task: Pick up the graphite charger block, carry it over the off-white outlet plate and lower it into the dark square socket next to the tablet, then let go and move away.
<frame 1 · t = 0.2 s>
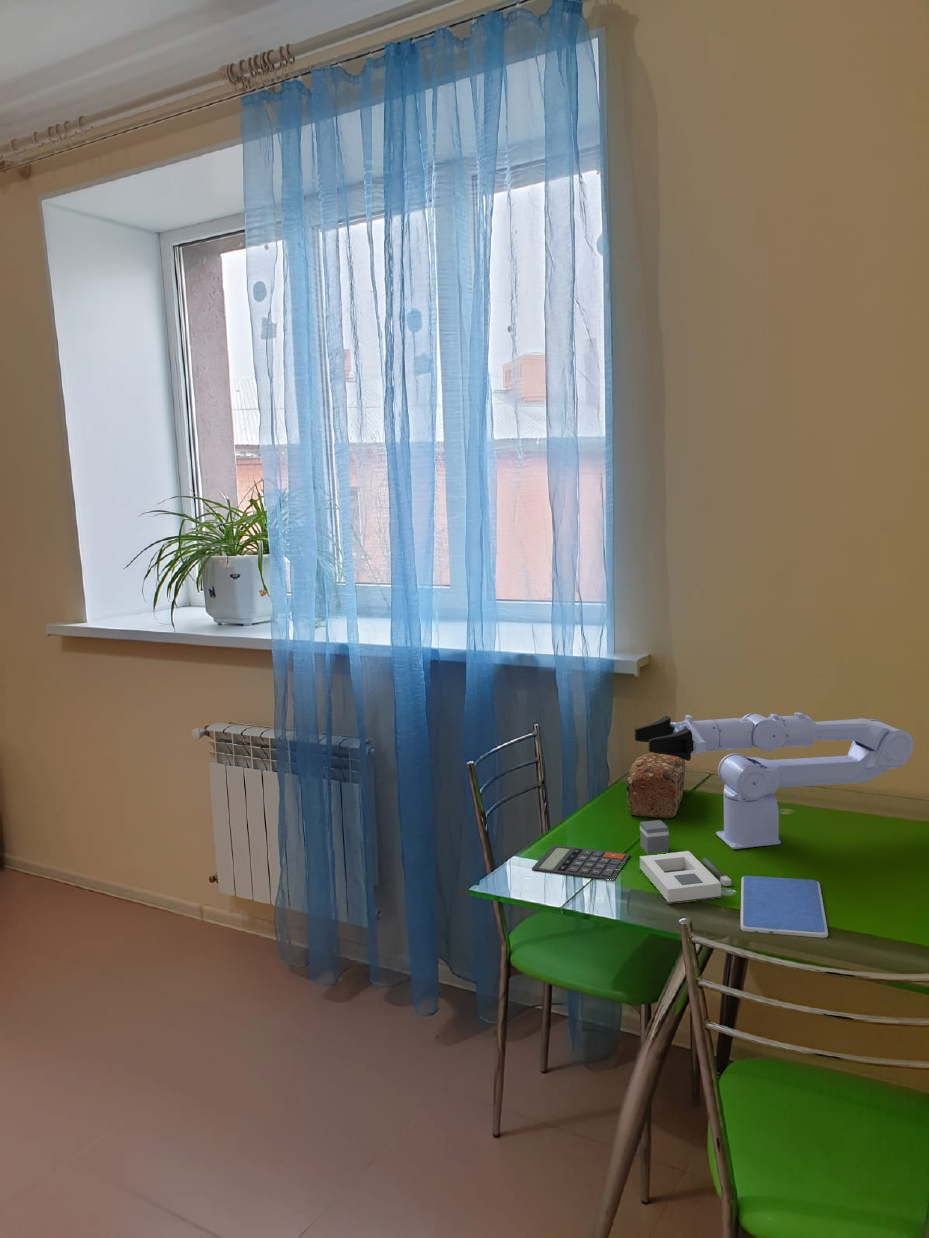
hand: (642, 740, 174), 21 cm above the table, tool horizontal, fingers open, 7 cm apart
calculator: (581, 866, 173), on the table
outlet plate: (679, 883, 162), on the table
bread: (657, 804, 202), on the table
cable: (714, 871, 166), on the table
tablet computer: (781, 910, 153), on the table
charger: (654, 850, 177), on the table
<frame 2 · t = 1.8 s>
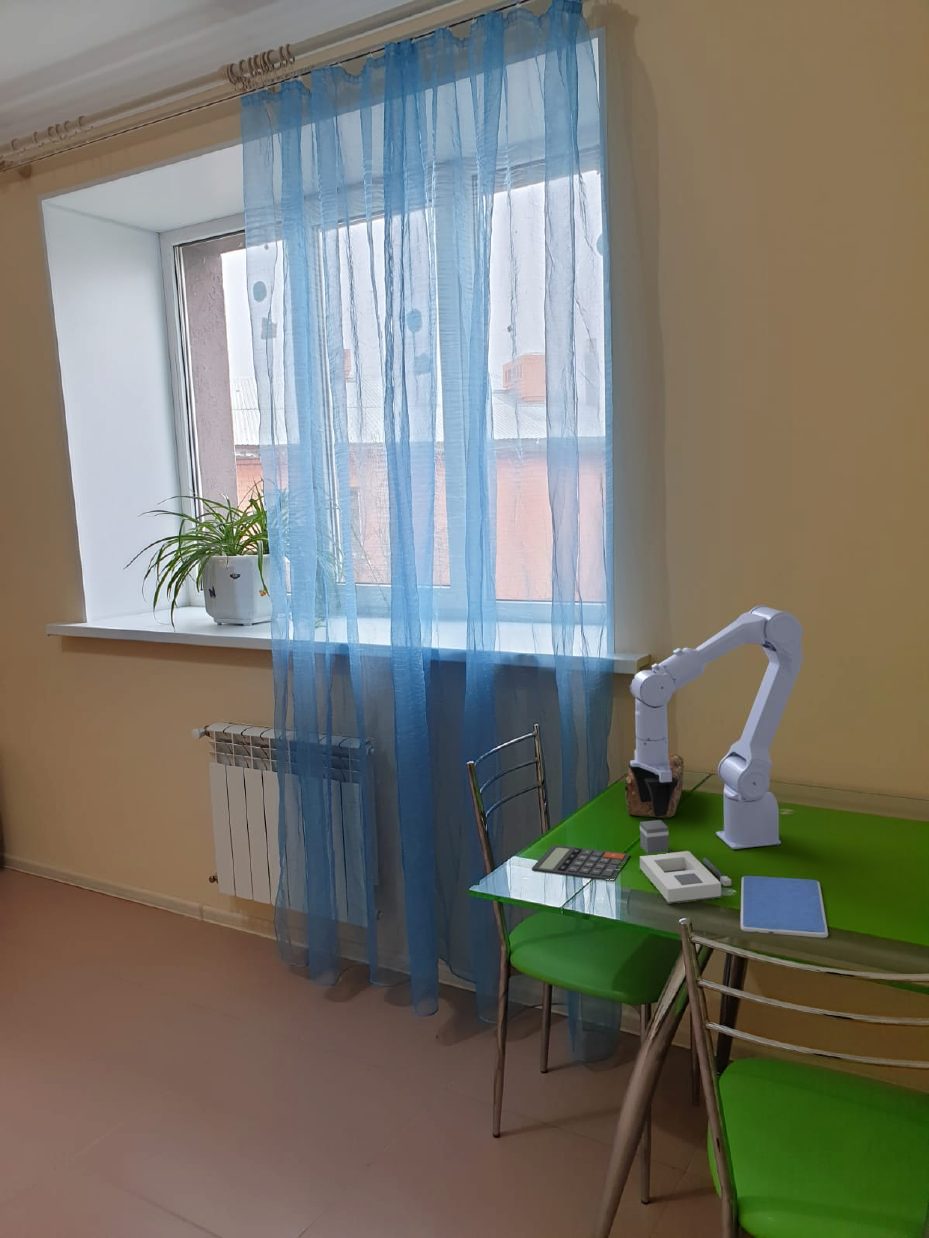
hand: (653, 808, 176), 8 cm above the table, tool pointing down, fingers open, 7 cm apart
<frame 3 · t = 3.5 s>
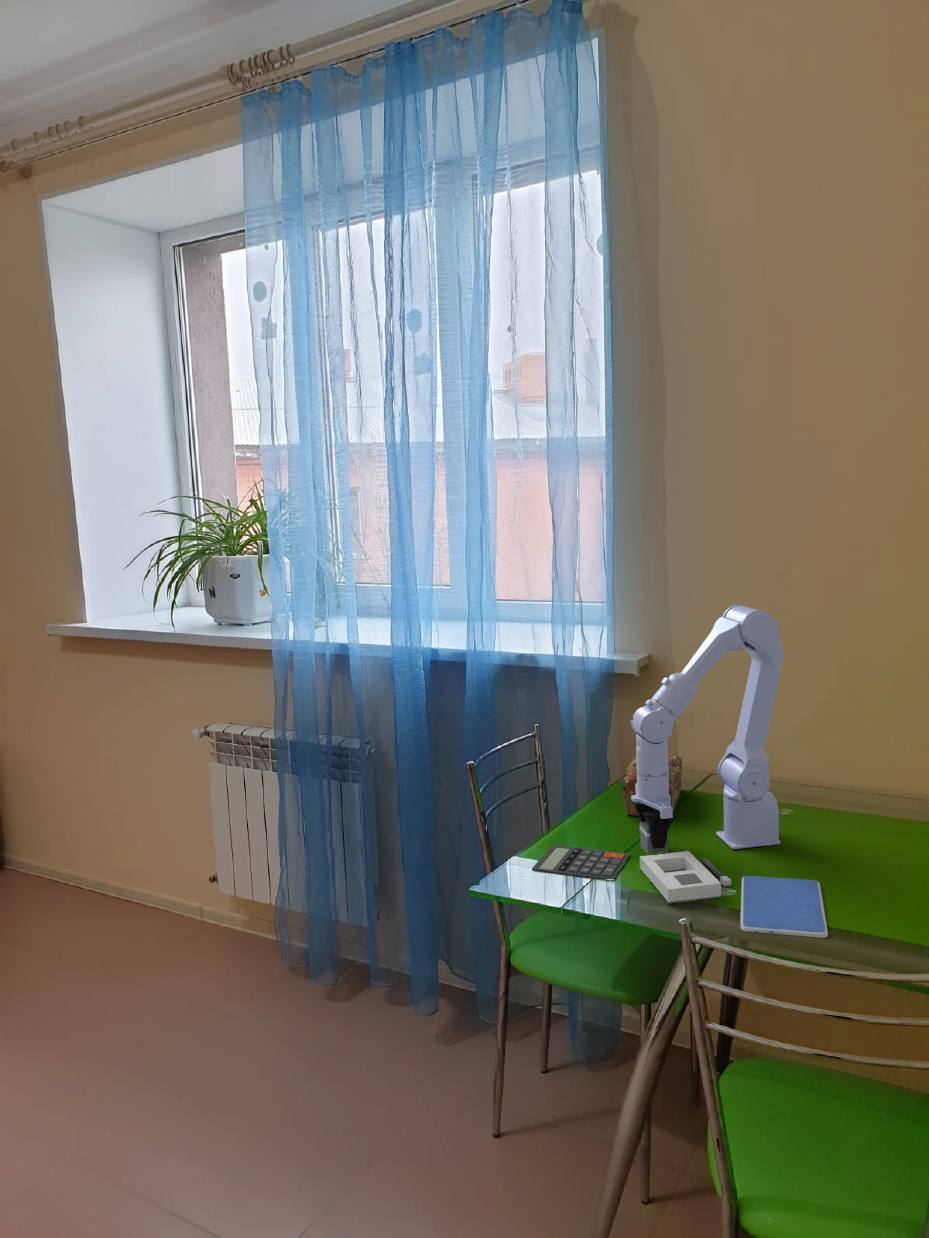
hand: (654, 842, 177), 1 cm above the table, tool pointing down, fingers closed on charger, 4 cm apart
charger: (654, 850, 177), on the table, touching gripper
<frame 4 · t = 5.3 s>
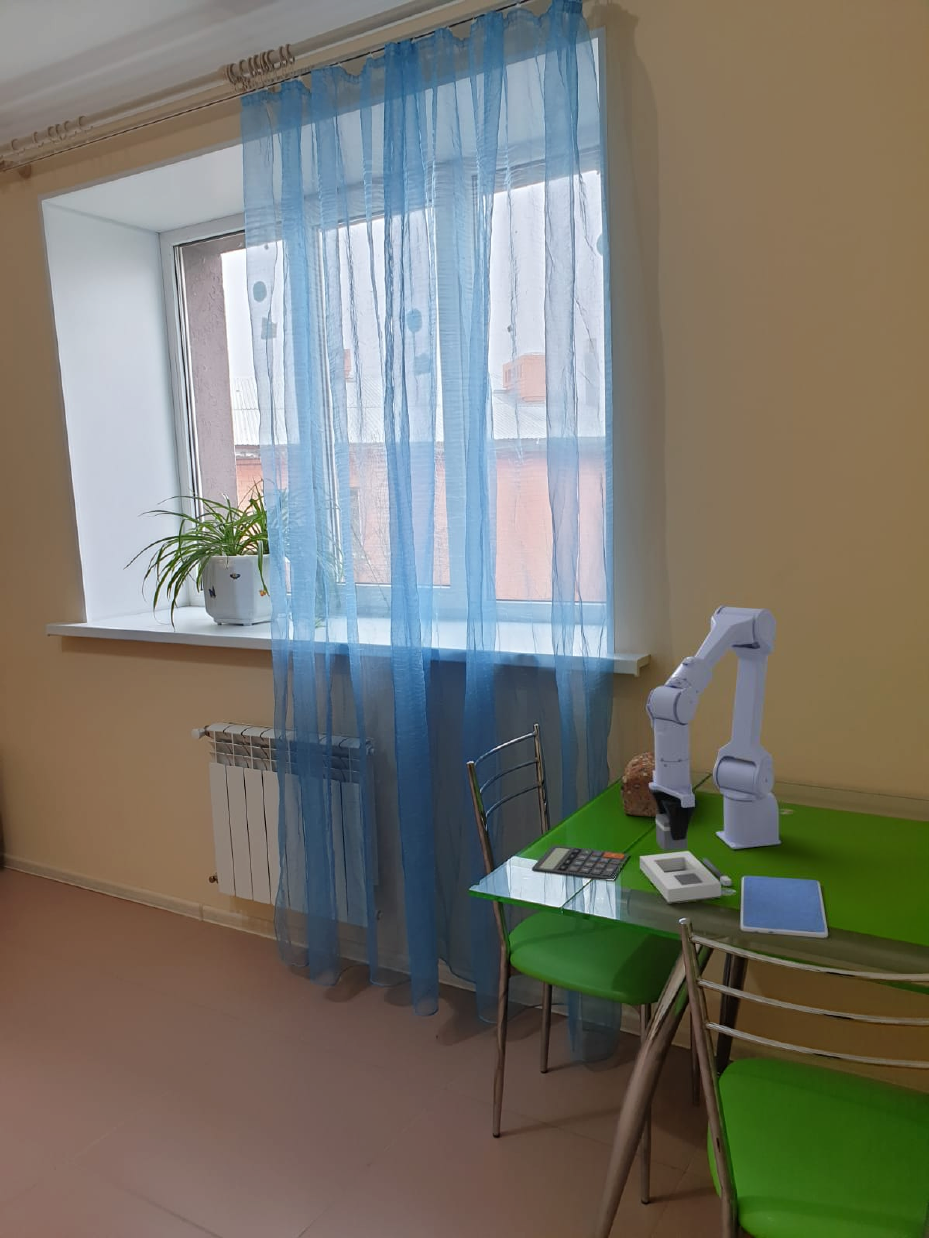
hand: (673, 834, 163), 8 cm above the table, tool pointing down, fingers closed on charger, 4 cm apart
charger: (671, 845, 163), point 6 cm above the table, touching gripper
everything else where it was.
when the fingers open (3 cm above the table, at t = 7.2 s): charger stays where it is, resting on outlet plate.
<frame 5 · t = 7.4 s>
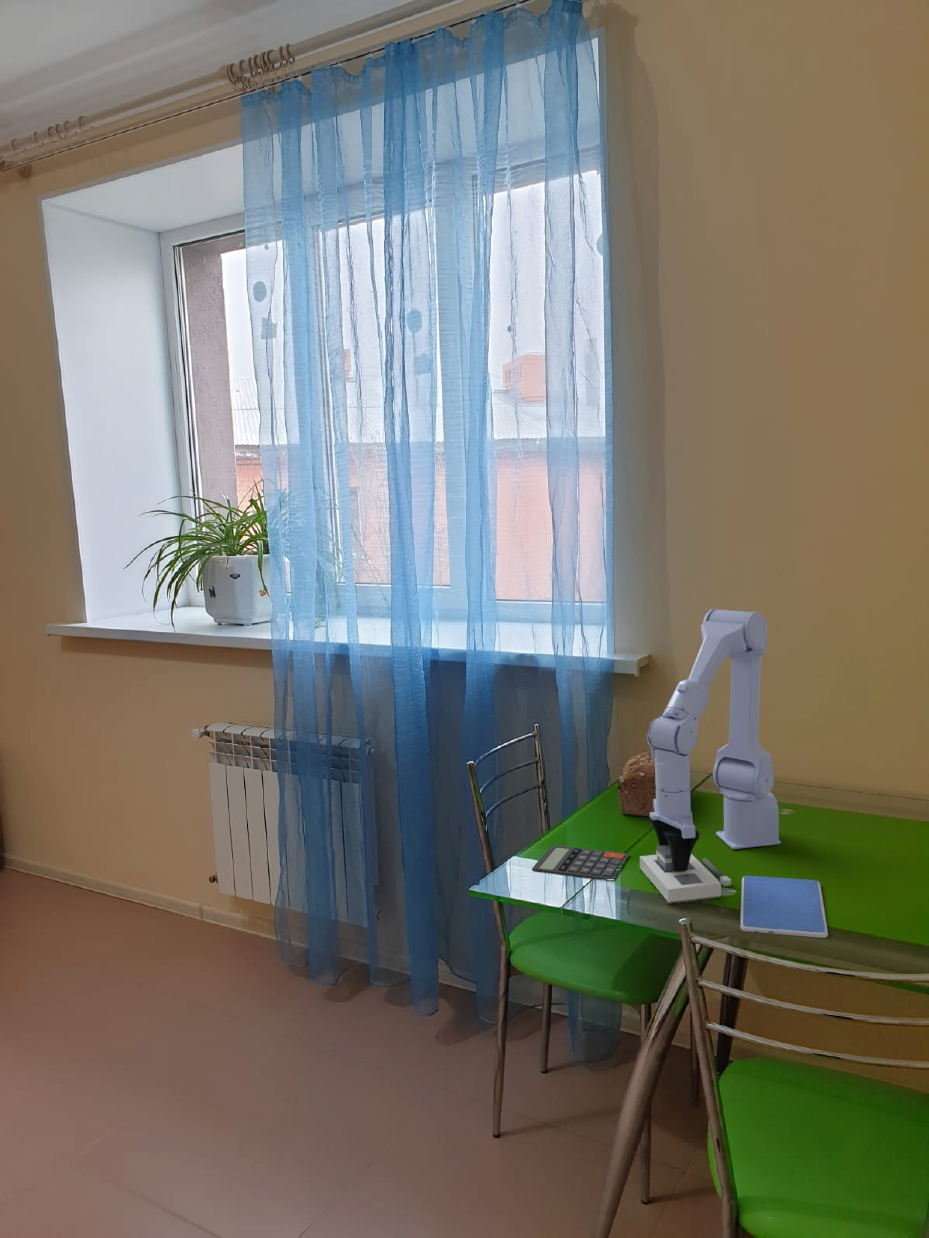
hand: (674, 863, 164), 3 cm above the table, tool pointing down, fingers open, 5 cm apart
charger: (672, 876, 164), resting on outlet plate
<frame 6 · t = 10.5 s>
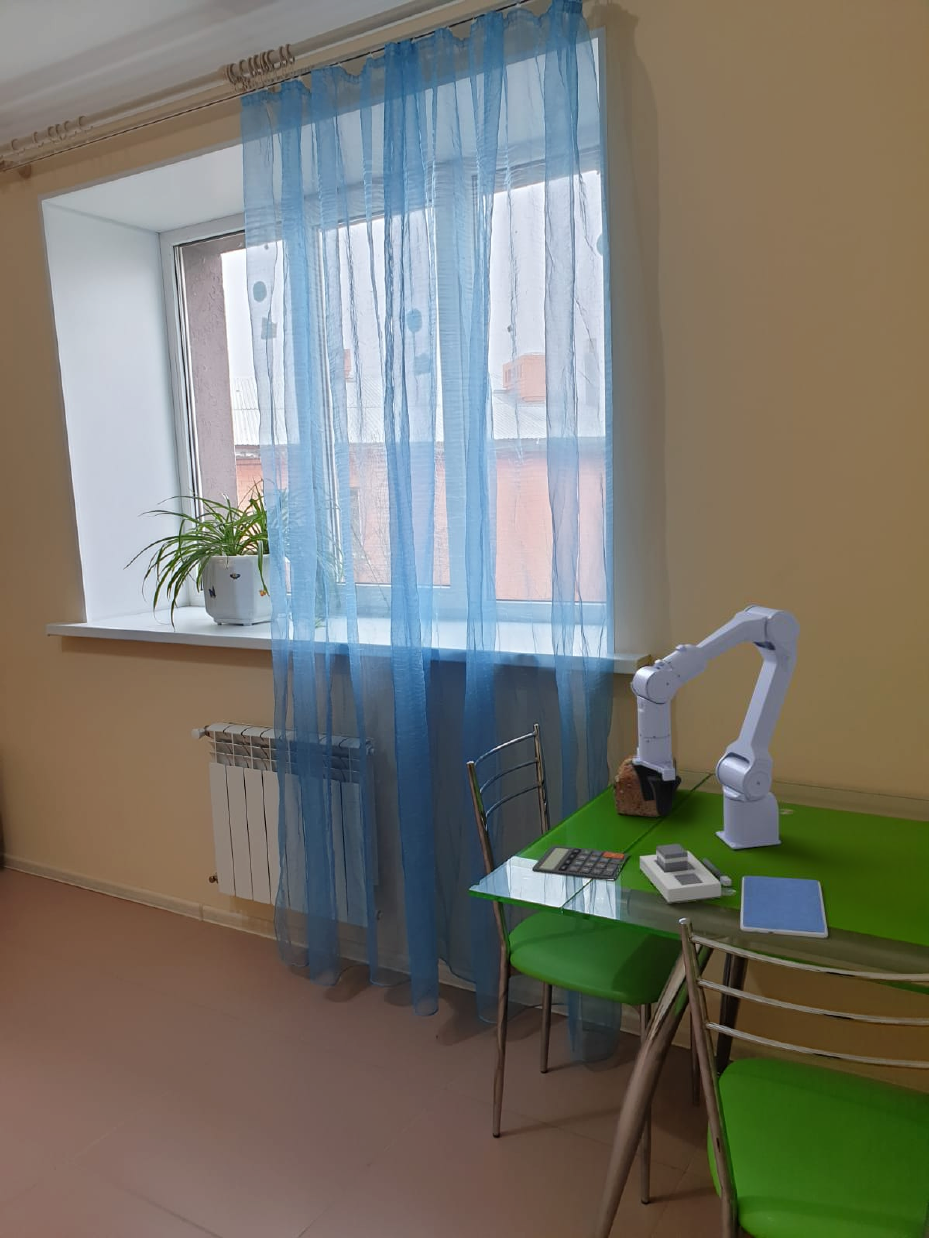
hand: (656, 807, 173), 9 cm above the table, tool pointing down, fingers open, 7 cm apart
at the end: charger 0.4 cm from the target spot on the outlet plate, point 0.4 cm above the outlet plate's base; charger tilted 0°; the gripper is holding nothing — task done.
